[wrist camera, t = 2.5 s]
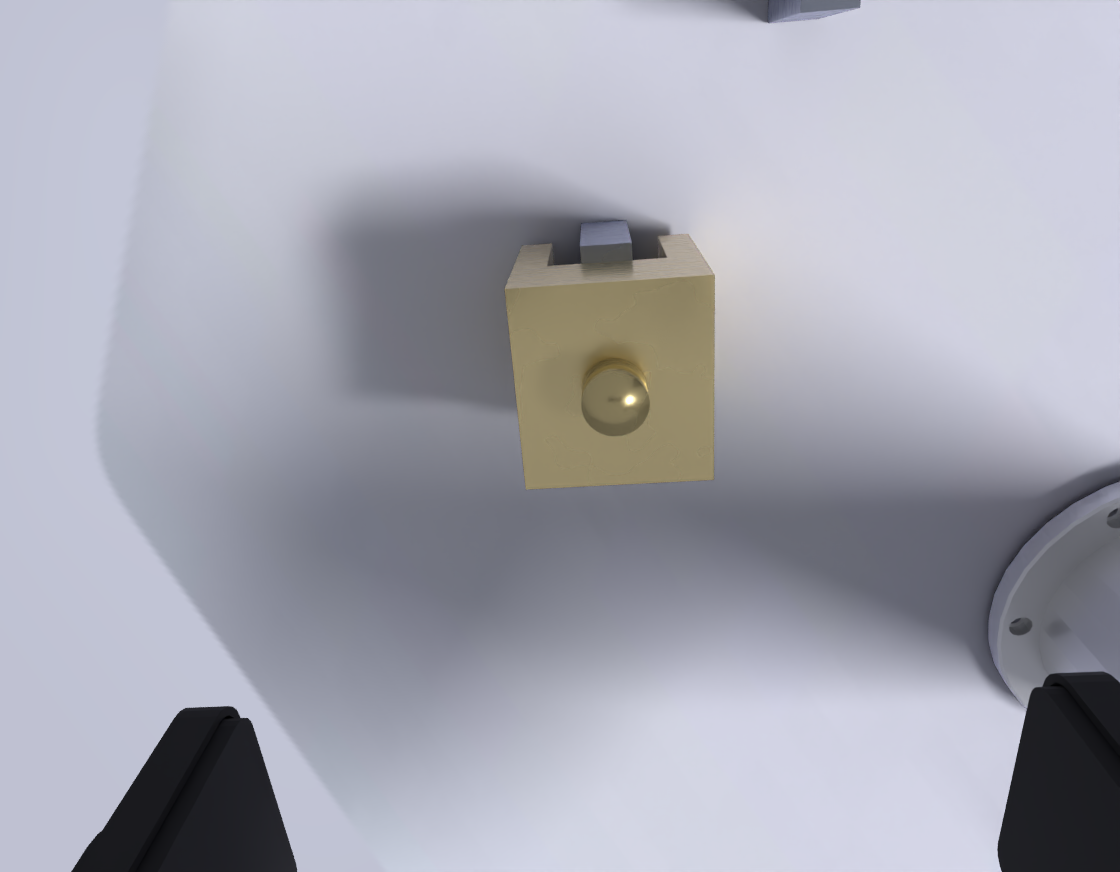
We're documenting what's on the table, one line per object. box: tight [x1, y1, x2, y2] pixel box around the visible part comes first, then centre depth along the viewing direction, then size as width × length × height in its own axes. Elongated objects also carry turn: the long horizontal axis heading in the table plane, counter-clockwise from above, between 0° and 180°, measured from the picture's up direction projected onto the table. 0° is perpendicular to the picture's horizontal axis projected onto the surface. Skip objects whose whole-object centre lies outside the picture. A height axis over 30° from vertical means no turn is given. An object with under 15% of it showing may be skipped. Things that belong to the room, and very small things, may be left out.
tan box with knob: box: [505, 234, 715, 489], centre depth 24 cm, size 6×6×7 cm
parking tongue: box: [580, 220, 633, 264], centre depth 26 cm, size 2×7×4 cm, turn 4°
